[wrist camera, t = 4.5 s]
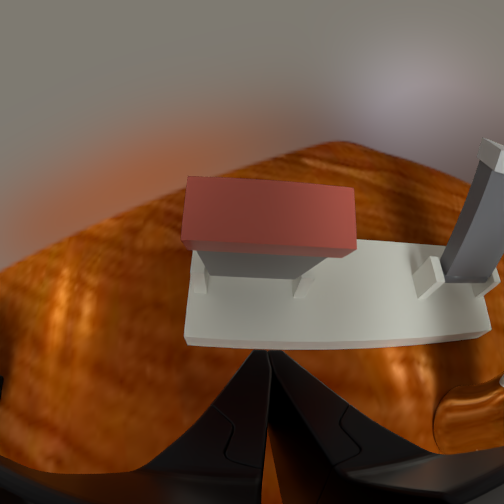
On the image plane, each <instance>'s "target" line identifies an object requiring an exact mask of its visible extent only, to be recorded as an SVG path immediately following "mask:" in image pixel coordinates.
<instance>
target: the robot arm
mask: <svg viewBox="0 0 504 504" xmlns="http://www.w3.org/2000/svg"><path fill="white" fill-rule="evenodd" d="M267 429H268V432H269V438H270V443H271V448H272V453H273V458H274V463H275V468H276V473H277V478H278V483H279V488H280V493H281V498H282V503H283V504H504V446H501V447H496V448H491V449H485V450H480V451H474V452H467V453H460V454H452V455H442V454H436V453H432V452H429V451H427V450H424V449H422V448H420V447H419V446H417V445H415V444H413V443H411V442H409V441H407V440H406V439H404V438H402V437H400V436H398V435H397V434H395V433H393V432H391V431H389V430H388V429H386V428H384V427H383V426H381V425H379V424H378V423H376V422H374V421H373V420H371V419H370V418H368V417H367V416H366V415H364V414H363V413H361V412H360V411H359V410H357V409H356V408H355V407H353V406H352V405H349V403H348V402H346V401H345V400H344V399H343V398H341V397H340V396H339V395H337V394H336V393H335V392H333V391H332V390H331V389H330V388H328V387H327V386H326V385H324V384H323V383H322V382H321V381H319V380H318V379H317V378H316V377H314V376H313V375H312V374H310V373H309V372H308V371H307V370H305V369H304V368H303V367H302V366H300V365H299V364H298V363H297V362H295V361H294V360H293V359H292V358H291V357H289V356H288V355H287V354H286V353H284V352H283V351H281V350H269V351H268V352H267V351H266V350H253V351H252V352H251V353H250V355H249V356H248V357H247V359H246V360H245V361H244V363H243V364H242V365H241V367H240V368H239V369H238V370H237V372H236V373H235V374H234V376H233V377H232V378H231V380H230V381H229V382H228V383H227V385H226V386H225V387H224V389H223V390H222V391H221V392H220V394H219V395H218V396H217V397H216V399H215V400H214V401H213V402H212V404H211V405H210V406H209V407H208V408H207V410H206V411H205V412H204V413H203V415H202V416H201V417H200V418H199V419H198V420H197V421H196V422H195V424H194V425H193V426H191V427H190V428H189V429H188V430H187V431H186V432H185V433H184V434H183V435H182V436H181V437H179V438H178V439H177V440H176V441H175V442H173V443H172V444H171V445H170V446H169V447H167V448H166V449H165V450H164V451H163V452H161V453H160V454H159V455H158V456H156V457H155V458H154V459H153V460H151V461H150V462H149V463H147V464H146V465H144V466H142V467H141V468H139V469H136V470H134V471H130V472H122V473H105V474H58V473H49V472H43V471H38V470H35V469H31V468H28V467H26V466H23V465H21V464H19V463H16V462H14V461H12V460H10V459H8V458H5V457H3V456H0V504H261V489H262V478H263V469H264V459H265V449H266V439H267Z"/></svg>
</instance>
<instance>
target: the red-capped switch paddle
mask: <svg viewBox="0 0 504 504" xmlns="http://www.w3.org/2000/svg"><path fill="white" fill-rule="evenodd" d="M181 241H182V242H183V244H184V245H185V247H186V249H187V250H195V251H197V253H198V255H199V257H200V258H201V260H202V262H203V264H204V266H205V267H206V269H207V271H208V273H209V275H210V276H228V277H247V278H268V279H291V280H295V279H296V278H298V277H299V276H301V275H302V274H304V273H305V272H307V271H308V270H310V269H311V268H313V267H314V266H316V265H317V264H319V263H320V262H322V261H323V260H325V259H326V258H328V257H329V258H343V257H345V256H347V255H348V254H350V253H352V252H353V251H355V250H357V236H356V216H355V200H354V188H349V187H340V186H331V185H321V184H310V183H299V182H287V181H274V180H259V179H243V178H223V177H196V176H188V179H187V186H186V195H185V203H184V212H183V221H182V231H181Z"/></svg>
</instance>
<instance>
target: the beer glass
mask: <svg viewBox="0 0 504 504" xmlns="http://www.w3.org/2000/svg"><path fill="white" fill-rule="evenodd" d="M433 429H434V437H435V441H436V444H437V446H438V447H439V449H440V450H441V451H442V452H443V453H444V454H445V455H452V454H460V453H467V452H474V451H480V450H485V449H491V448H496V447H501V446H504V371H503V372H502V373H500V374H499V375H497V376H496V377H494V378H493V379H491V380H489V381H487V382H484V383H481V384H475V385H462V386H458V387H455V388H453V389H452V390H450V391H449V392H448V393H447V394H446V395H445V396H444V397H443V399H442V400H441V402H440V403H439V405H438V408H437V410H436V413H435V417H434V426H433Z"/></svg>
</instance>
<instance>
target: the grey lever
mask: <svg viewBox="0 0 504 504" xmlns="http://www.w3.org/2000/svg"><path fill="white" fill-rule="evenodd" d="M477 158H478V159H480V161H479V165H478V168H477V170H476V174H475V176H474V179H473V182H472V185H471V187H470V190H469V193H468V196H467V198H466V201H465V203H464V206H463V208H462V211H461V213H460V216H459V218H458V221H457V223H456V225H455V228H454V230H453V232H452V235H451V237H450V239H449V241H448V243H447V246H446V248H445V250H444V252H443V254H442V256H441V258H440V260H439V261H440V264H441V268H442V271H443V275H444V279H445V283H485V282H486V281H487V279H488V277H490V276H491V275H492V273H493V271H494V269H495V268H496V266H497V264H498V262H499V260H500V259H501V257H502V255H503V253H504V146H503V145H501V144H498V143H496V142H493V141H491V140H488V139H485V138H482V141H481V144H480V148H479V151H478V154H477Z"/></svg>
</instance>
